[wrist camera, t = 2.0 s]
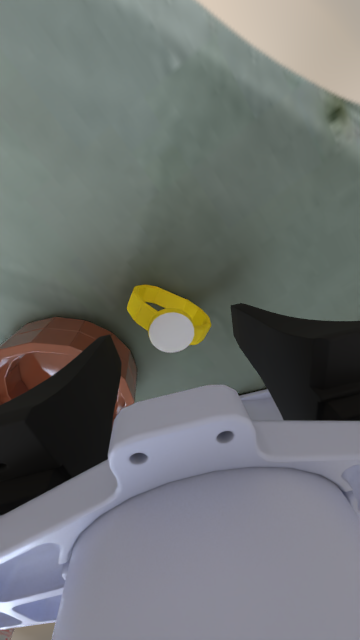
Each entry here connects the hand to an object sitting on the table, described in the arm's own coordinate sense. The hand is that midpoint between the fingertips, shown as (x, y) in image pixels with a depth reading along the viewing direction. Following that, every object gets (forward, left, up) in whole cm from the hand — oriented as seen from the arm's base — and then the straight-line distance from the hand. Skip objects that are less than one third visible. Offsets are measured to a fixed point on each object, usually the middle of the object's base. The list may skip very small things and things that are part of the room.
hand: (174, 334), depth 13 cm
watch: (0, 0, -6) cm, 6 cm away
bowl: (+10, +5, -6) cm, 13 cm away
